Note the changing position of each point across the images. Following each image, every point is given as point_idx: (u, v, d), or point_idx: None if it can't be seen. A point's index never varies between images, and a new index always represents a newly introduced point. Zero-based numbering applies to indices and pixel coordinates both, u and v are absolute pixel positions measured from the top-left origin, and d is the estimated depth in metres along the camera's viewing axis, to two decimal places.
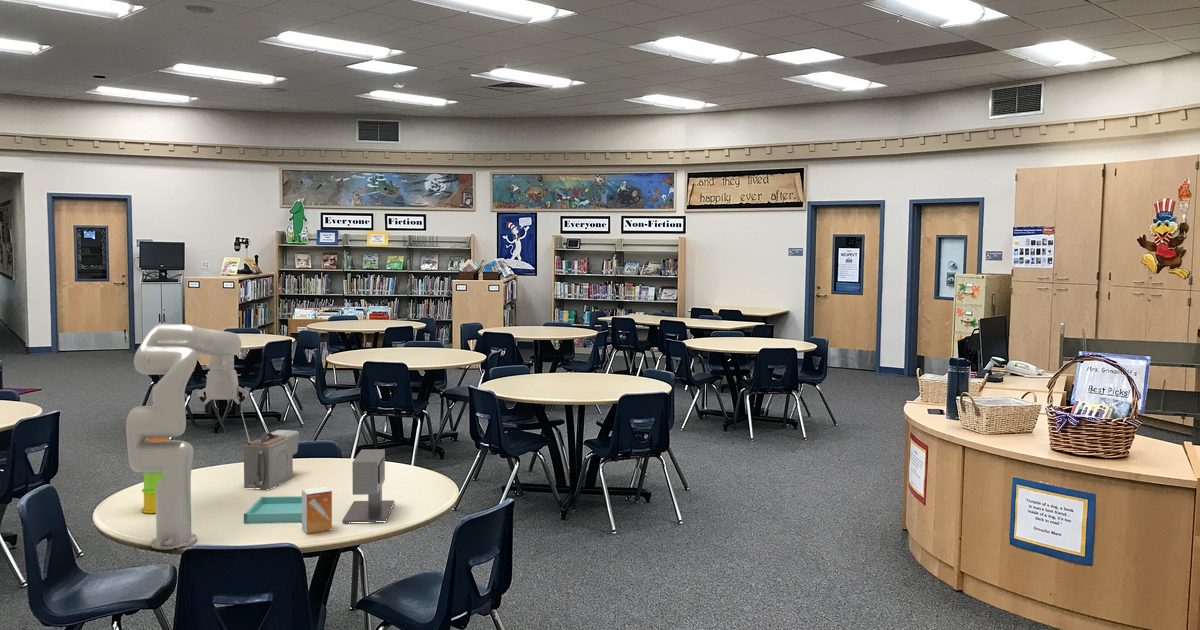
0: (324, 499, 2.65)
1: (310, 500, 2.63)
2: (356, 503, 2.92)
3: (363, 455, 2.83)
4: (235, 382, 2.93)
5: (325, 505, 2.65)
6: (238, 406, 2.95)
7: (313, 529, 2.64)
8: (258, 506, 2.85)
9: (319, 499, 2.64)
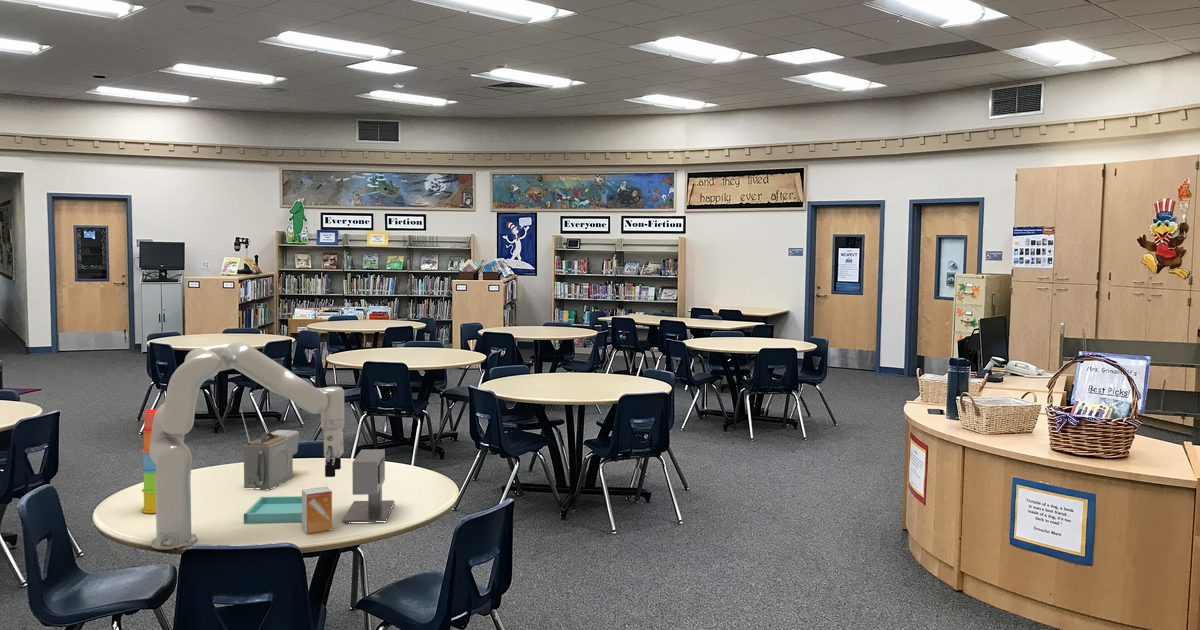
0: (324, 499, 2.65)
1: (310, 500, 2.63)
2: (356, 503, 2.92)
3: (363, 455, 2.83)
4: None
5: (325, 505, 2.65)
6: None
7: (313, 529, 2.64)
8: (258, 506, 2.85)
9: (319, 499, 2.64)
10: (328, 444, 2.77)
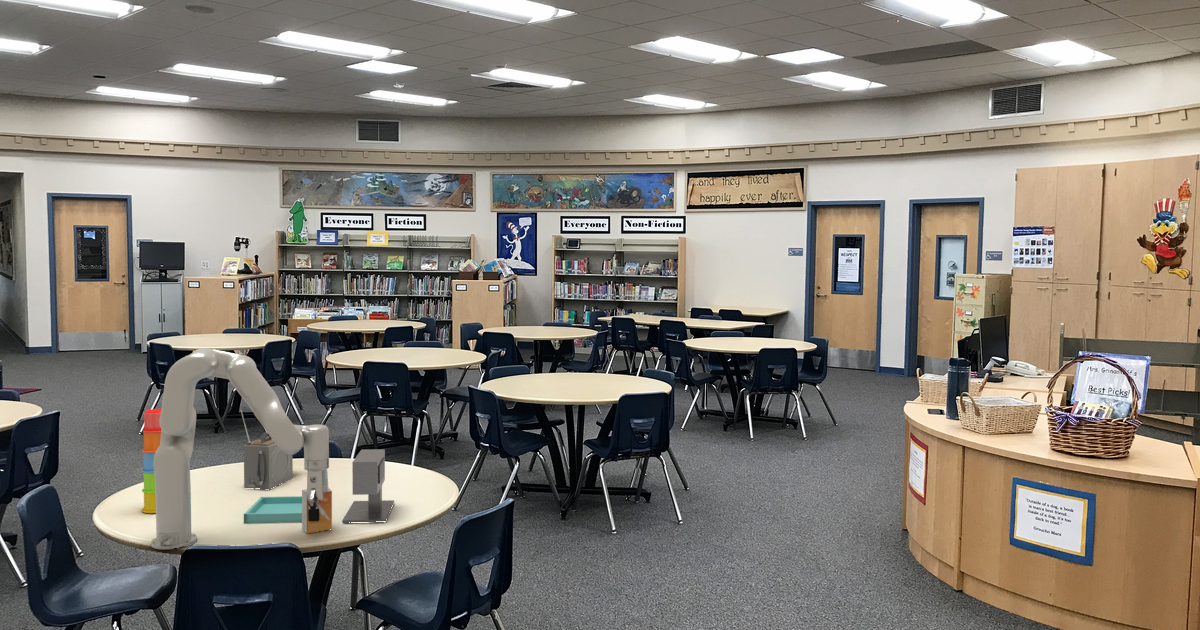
0: (324, 499, 2.65)
1: None
2: (356, 503, 2.92)
3: (363, 455, 2.83)
4: None
5: (325, 505, 2.65)
6: None
7: (313, 529, 2.64)
8: (258, 506, 2.85)
9: None
10: (312, 486, 2.61)
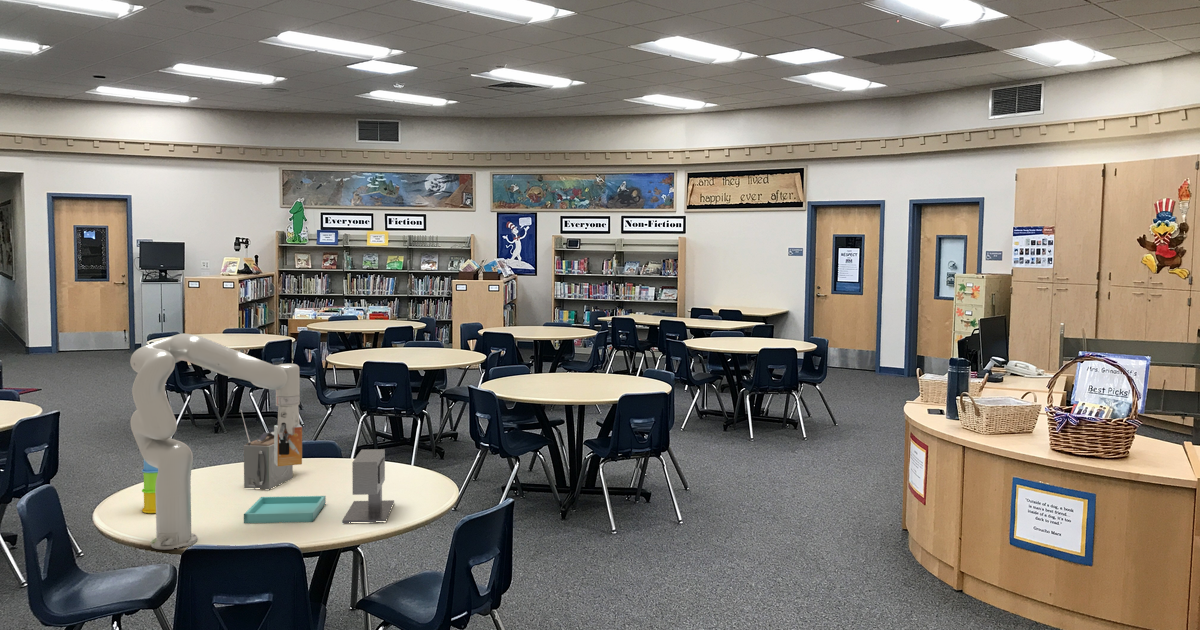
0: (294, 434, 2.78)
1: None
2: (356, 503, 2.92)
3: (363, 455, 2.83)
4: None
5: (296, 440, 2.79)
6: None
7: (283, 462, 2.77)
8: (258, 506, 2.85)
9: (290, 434, 2.78)
10: (282, 421, 2.75)
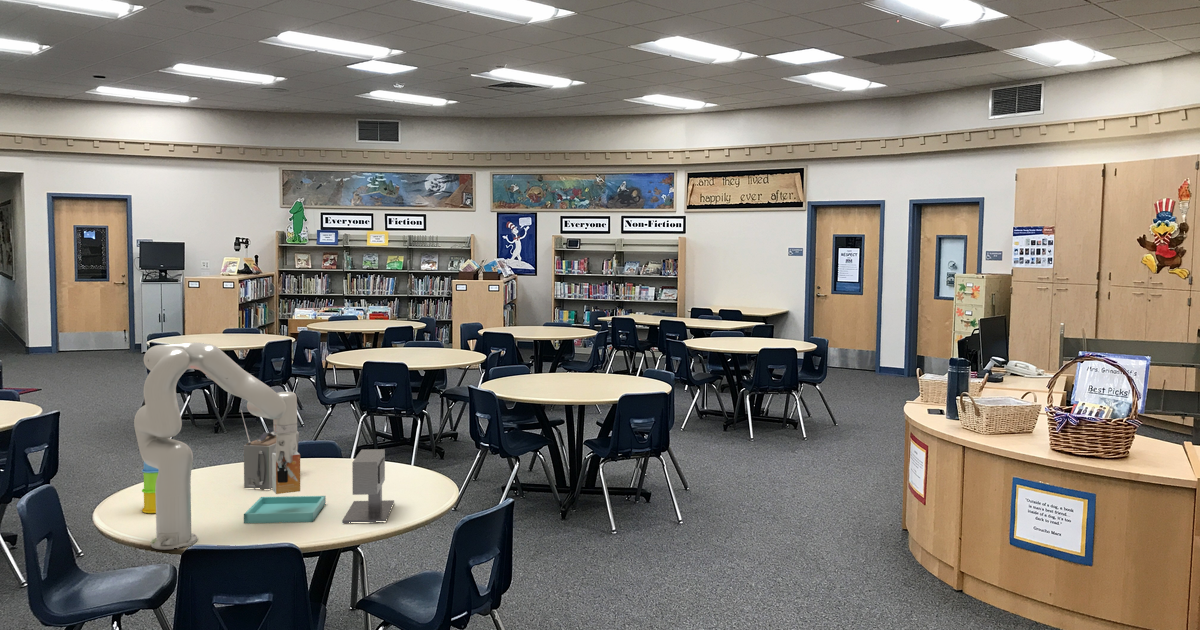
0: (293, 462, 2.81)
1: None
2: (356, 503, 2.92)
3: (363, 455, 2.83)
4: None
5: (294, 468, 2.81)
6: None
7: (282, 490, 2.79)
8: (258, 506, 2.85)
9: (288, 462, 2.80)
10: (280, 449, 2.77)
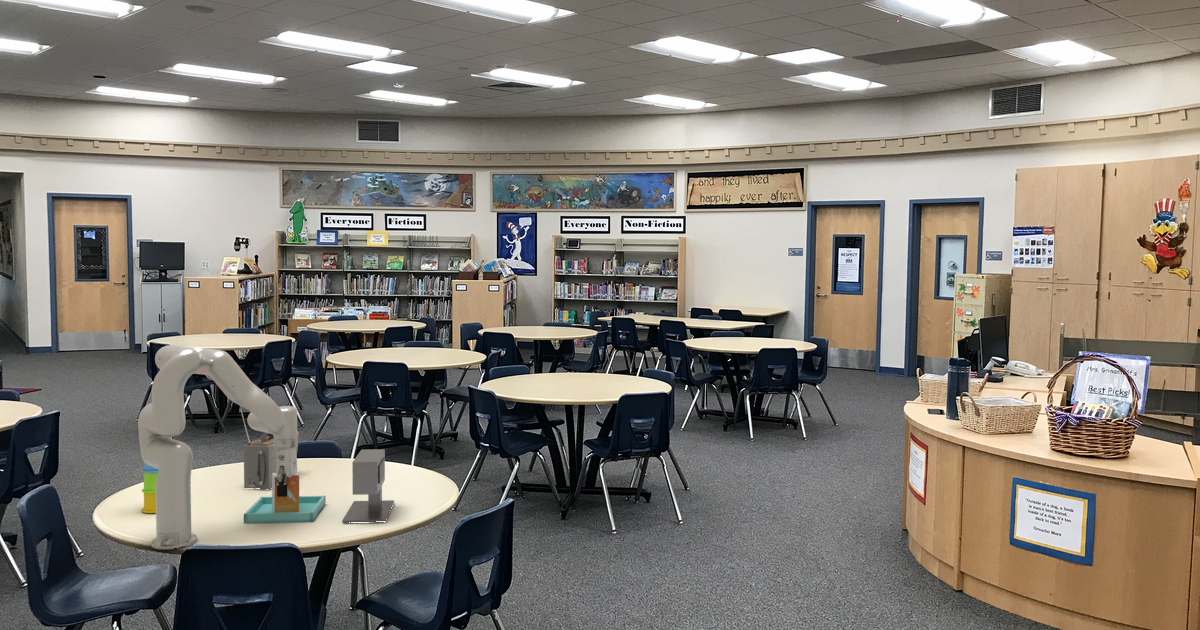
0: (292, 482, 2.81)
1: None
2: (356, 503, 2.92)
3: (363, 455, 2.83)
4: None
5: (293, 488, 2.81)
6: None
7: (280, 510, 2.80)
8: (258, 506, 2.85)
9: (287, 482, 2.80)
10: (280, 464, 2.77)
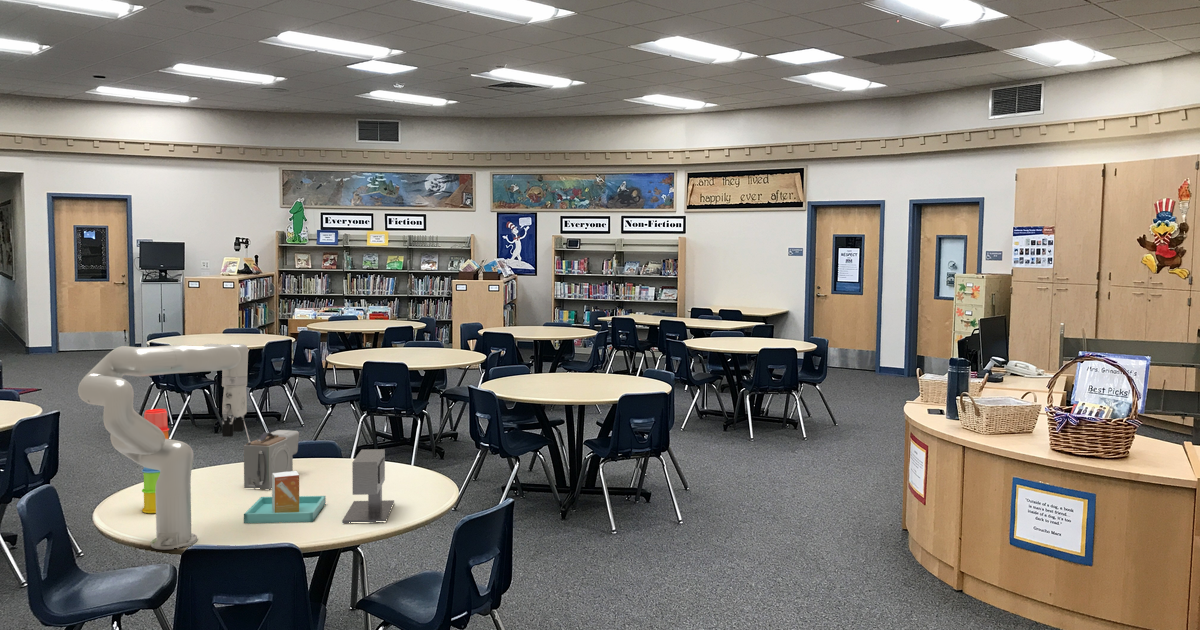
0: (291, 482, 2.81)
1: (278, 483, 2.79)
2: (356, 503, 2.92)
3: (363, 455, 2.83)
4: None
5: (293, 488, 2.81)
6: None
7: (280, 510, 2.80)
8: (258, 506, 2.85)
9: (287, 482, 2.80)
10: (227, 402, 2.66)
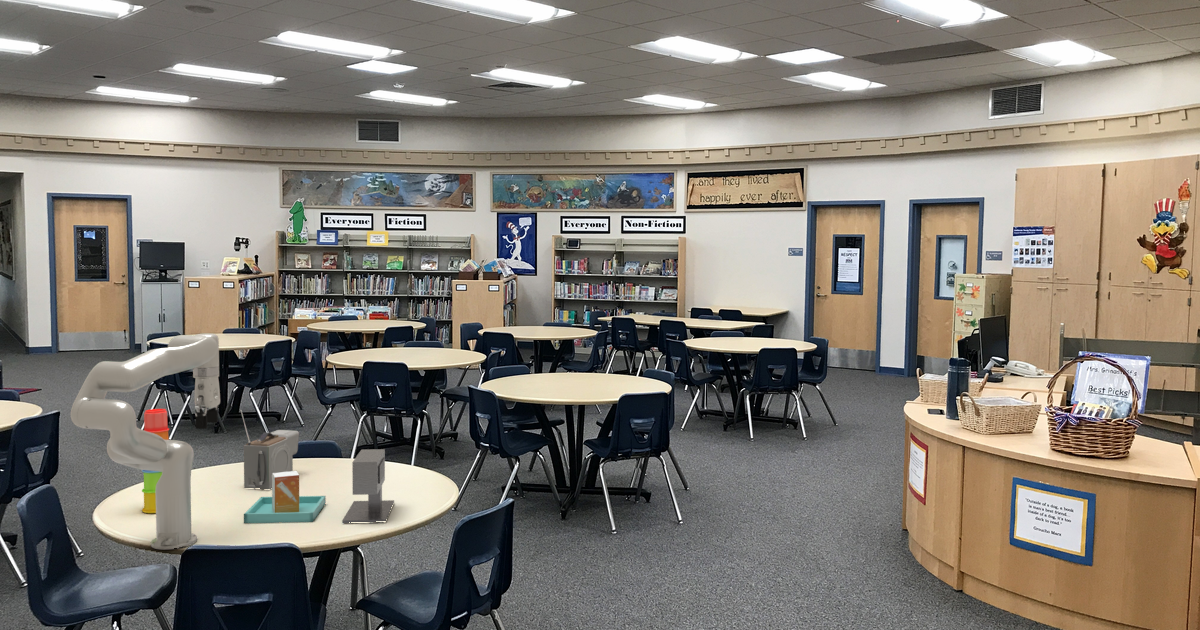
0: (291, 482, 2.81)
1: (278, 483, 2.79)
2: (356, 503, 2.92)
3: (363, 455, 2.83)
4: None
5: (293, 488, 2.81)
6: None
7: (280, 510, 2.80)
8: (258, 506, 2.85)
9: (287, 482, 2.80)
10: (199, 393, 2.60)
